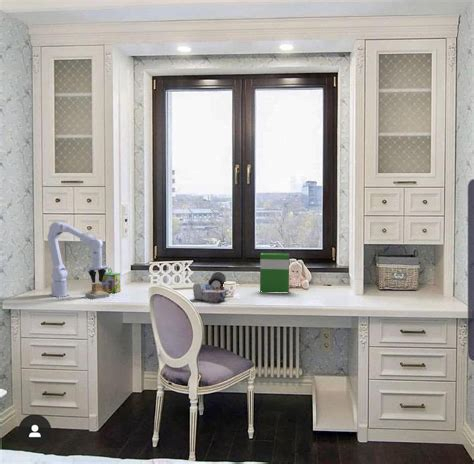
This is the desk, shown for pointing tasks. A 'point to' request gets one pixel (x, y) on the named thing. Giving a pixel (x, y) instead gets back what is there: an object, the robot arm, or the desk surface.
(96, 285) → the tan cardboard carton
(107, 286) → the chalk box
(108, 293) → the dock
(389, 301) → the desk surface
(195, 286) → the cell model
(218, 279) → the portable speaker
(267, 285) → the hardback book
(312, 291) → the desk surface
